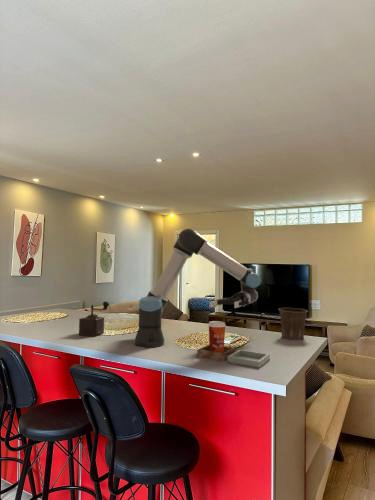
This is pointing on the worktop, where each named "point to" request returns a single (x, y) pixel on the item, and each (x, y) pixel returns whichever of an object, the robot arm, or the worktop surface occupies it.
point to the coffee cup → (216, 336)
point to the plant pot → (293, 323)
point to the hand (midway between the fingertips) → (222, 305)
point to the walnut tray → (215, 353)
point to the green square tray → (249, 358)
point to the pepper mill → (92, 323)
